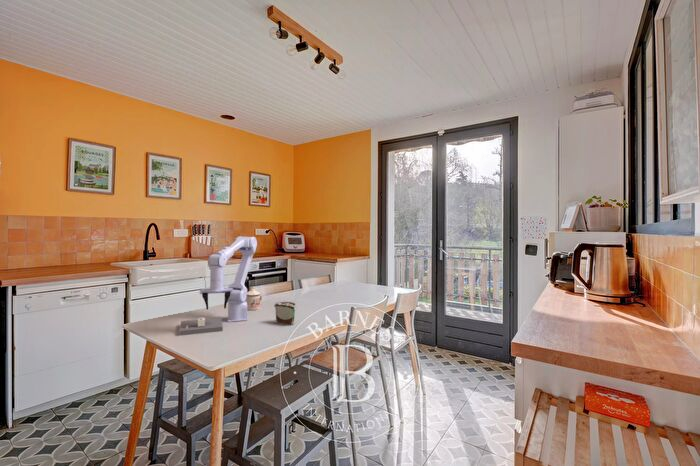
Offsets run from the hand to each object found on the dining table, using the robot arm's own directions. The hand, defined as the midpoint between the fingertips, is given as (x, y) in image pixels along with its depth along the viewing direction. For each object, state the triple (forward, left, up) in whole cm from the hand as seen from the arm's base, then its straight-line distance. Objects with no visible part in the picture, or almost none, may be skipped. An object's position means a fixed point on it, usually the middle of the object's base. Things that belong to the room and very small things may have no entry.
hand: (216, 308), depth 157 cm
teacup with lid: (-22, -32, -10) cm, 40 cm away
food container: (-34, +2, -10) cm, 35 cm away
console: (+6, -3, -10) cm, 12 cm away
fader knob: (+6, 0, -7) cm, 10 cm away
